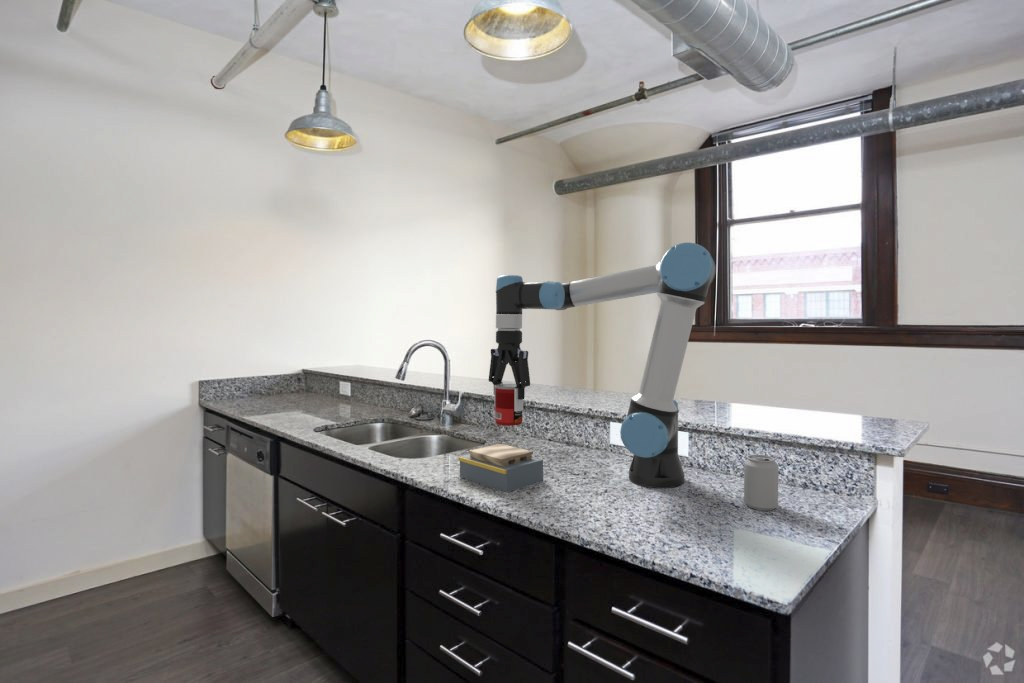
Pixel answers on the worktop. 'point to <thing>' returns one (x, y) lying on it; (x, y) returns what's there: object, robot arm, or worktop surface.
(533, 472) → the dock
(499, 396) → the canned food
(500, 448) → the pallet
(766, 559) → the worktop surface
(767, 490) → the can
